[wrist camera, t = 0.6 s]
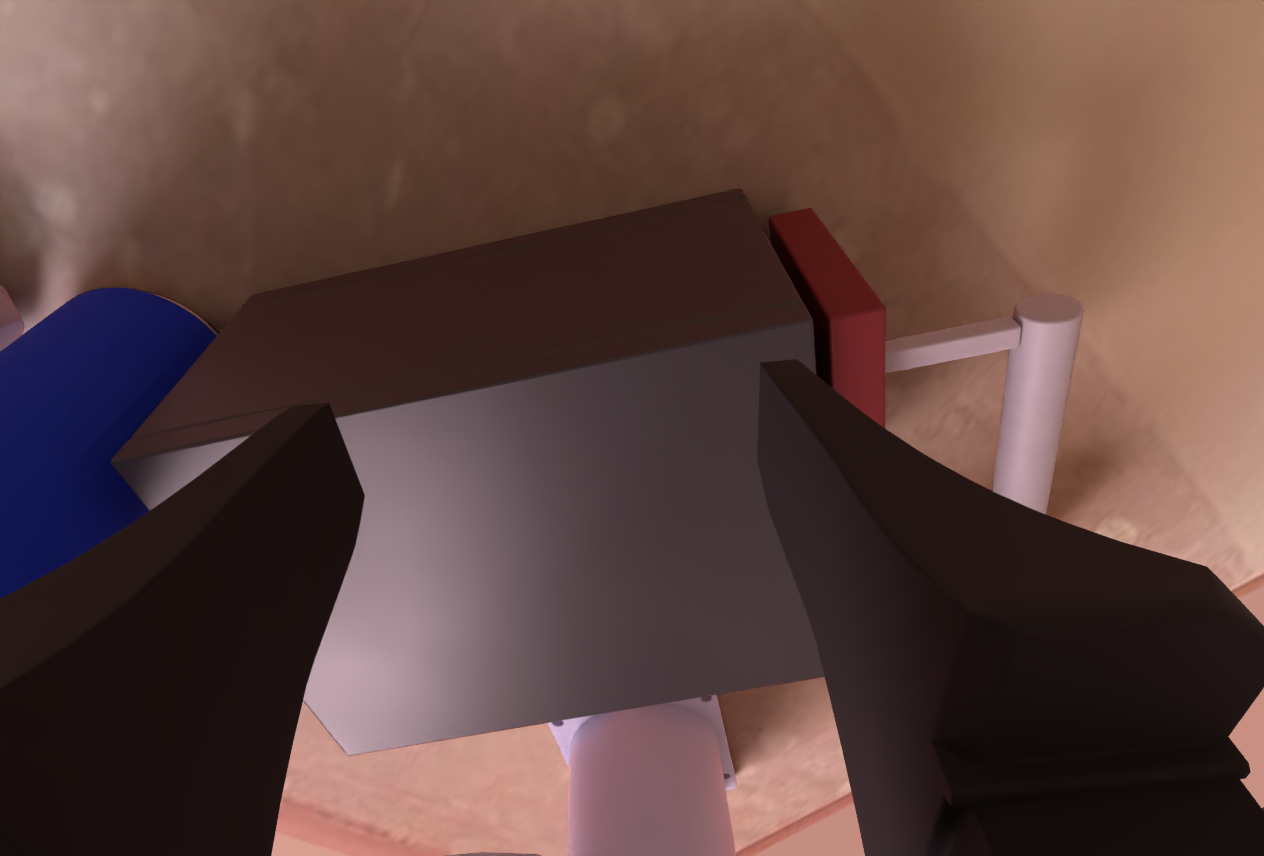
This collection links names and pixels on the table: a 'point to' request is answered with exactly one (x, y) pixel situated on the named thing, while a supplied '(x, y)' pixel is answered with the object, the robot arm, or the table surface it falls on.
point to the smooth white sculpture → (9, 320)
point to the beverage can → (82, 421)
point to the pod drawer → (937, 352)
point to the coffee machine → (529, 470)
